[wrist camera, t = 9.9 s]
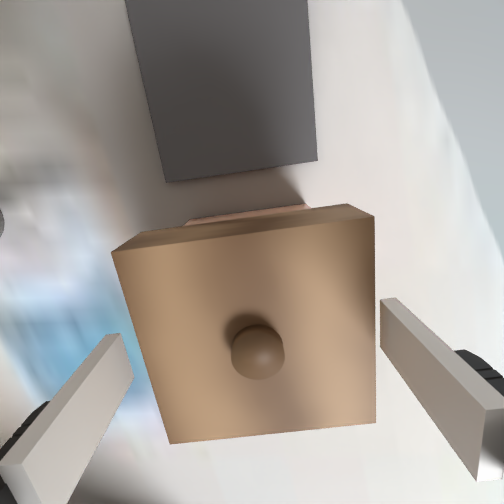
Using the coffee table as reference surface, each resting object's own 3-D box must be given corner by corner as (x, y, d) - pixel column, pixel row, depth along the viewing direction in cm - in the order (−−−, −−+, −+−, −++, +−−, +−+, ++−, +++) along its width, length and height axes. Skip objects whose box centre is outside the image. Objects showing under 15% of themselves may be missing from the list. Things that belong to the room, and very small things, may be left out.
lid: (184, 393, 19) (165, 459, 15) (141, 231, 15) (101, 258, 11) (353, 374, 18) (382, 437, 14) (347, 203, 15) (383, 220, 11)
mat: (168, 181, 21) (166, 182, 21) (128, 3, 18) (124, -2, 17) (315, 160, 21) (317, 160, 20) (303, -27, 18) (305, -33, 17)
